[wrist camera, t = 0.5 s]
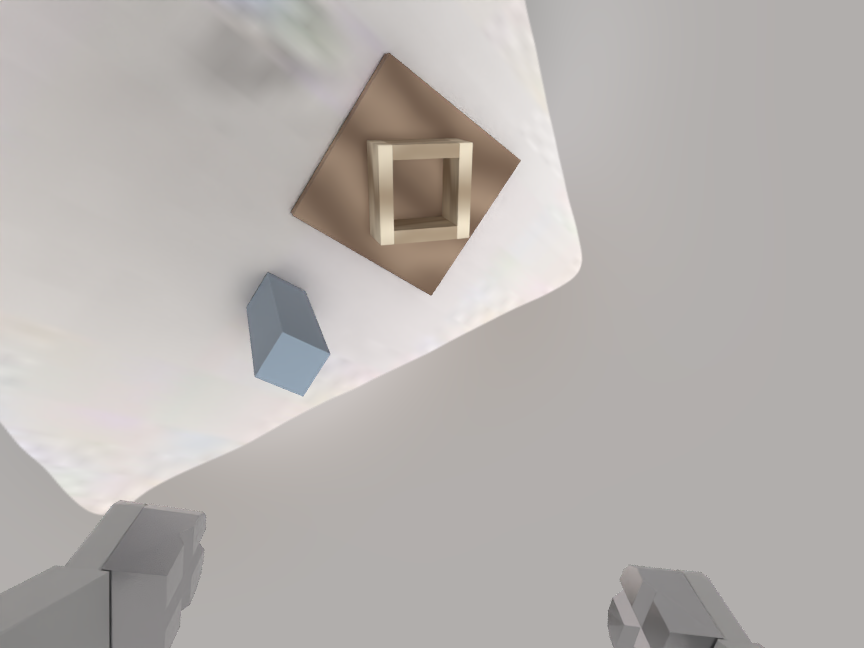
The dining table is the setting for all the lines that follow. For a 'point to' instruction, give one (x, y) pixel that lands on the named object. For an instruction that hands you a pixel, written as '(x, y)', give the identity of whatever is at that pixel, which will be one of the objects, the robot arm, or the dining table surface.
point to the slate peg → (285, 336)
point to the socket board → (405, 178)
